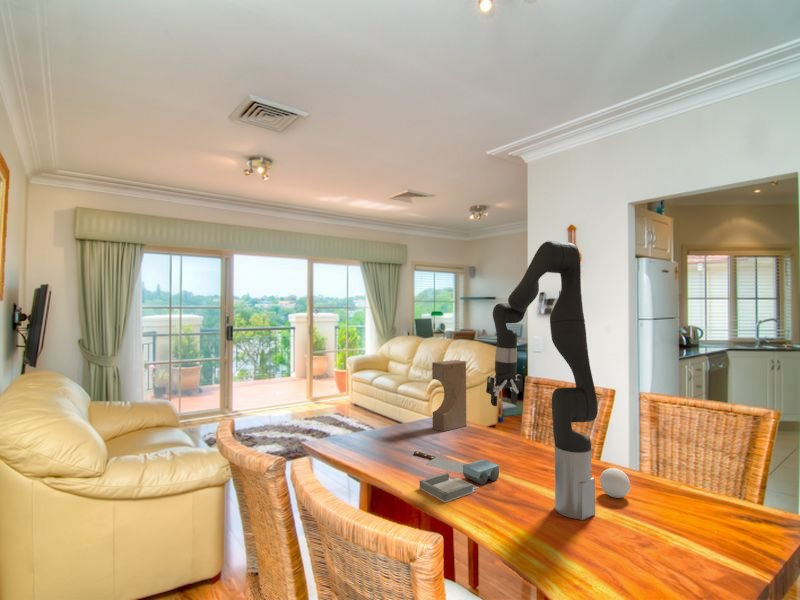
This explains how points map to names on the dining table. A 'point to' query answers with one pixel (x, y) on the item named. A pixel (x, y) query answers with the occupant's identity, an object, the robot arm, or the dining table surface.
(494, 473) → the pale blue lipped slab
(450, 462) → the kitchen cleaver
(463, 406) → the decorative block
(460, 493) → the dock
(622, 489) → the ball
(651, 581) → the dining table surface
